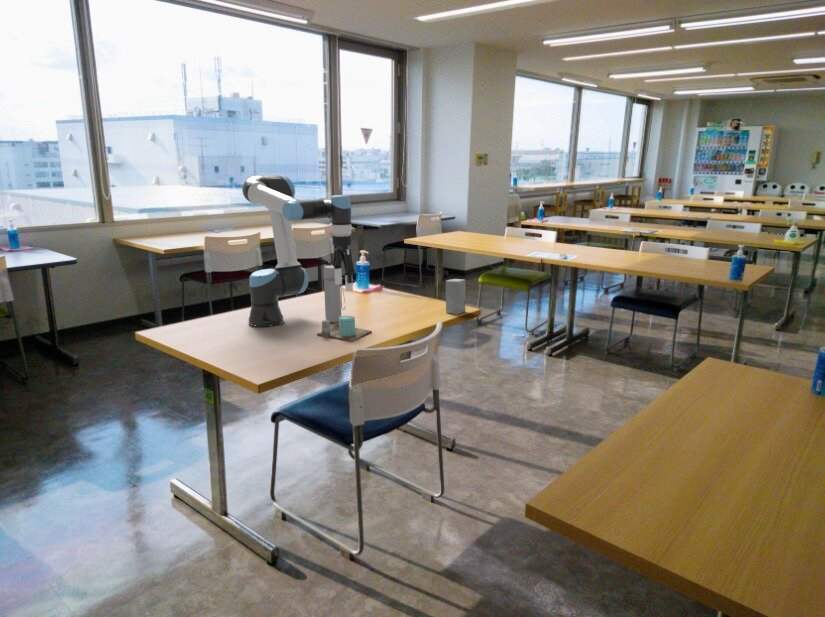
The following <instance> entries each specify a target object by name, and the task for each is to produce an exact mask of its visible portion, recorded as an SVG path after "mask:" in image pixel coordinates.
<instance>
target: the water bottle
mask: <svg viewBox="0 0 825 617" xmlns="http://www.w3.org/2000/svg"><path fill="white" fill-rule="evenodd" d="M323 271H324V272H323V285H324V286H323V288H324V289H323V290H324V307H325V308H324V312H325V320H329V322H330V323H331V324H336V322H337V323H339V317H341V316H342V311H345V310H346V307H344V309H343V302H346V299H345V297H343V295H345V292H344V291H343V289H344V287H343V283H342V284H337V285H335V268H334V266H333V265H325V266H324V268H323ZM342 297H343V298H342ZM343 299H344V300H343Z"/></svg>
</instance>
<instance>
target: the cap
mask: <svg viewBox="0 0 825 617" xmlns="http://www.w3.org/2000/svg"><path fill="white" fill-rule="evenodd" d="M338 325H339V334H340V335H341V336H353V335H355V328H356V320H355V316H354V315H341V317H339V322H338Z"/></svg>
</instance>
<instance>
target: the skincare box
mask: <svg viewBox="0 0 825 617" xmlns="http://www.w3.org/2000/svg"><path fill="white" fill-rule="evenodd" d="M464 312H466V279H464V278H463V279H461V278H452V279H447V280H445V313H446V314H452V315H457V316H458V315H459V314H462V313H464Z"/></svg>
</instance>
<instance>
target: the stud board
mask: <svg viewBox="0 0 825 617" xmlns="http://www.w3.org/2000/svg"><path fill="white" fill-rule="evenodd" d="M372 332H373V331H372V330H368V329H363V328H357V327H355V335H353V336H341V335H340V334H339V324H337V325H336V324H335V325H334V326H330V322H329V320H326V319H325V320H324V319H323V320H321V331H320V332H317V333H316V335H317V336H318V335H319V337H325V338H330V339H337V340H341V341H348V342H351V343H353V342H355V341H357V340H360V339H361V338H363V337H365V336H368V335H370V334H371V333H372Z"/></svg>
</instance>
